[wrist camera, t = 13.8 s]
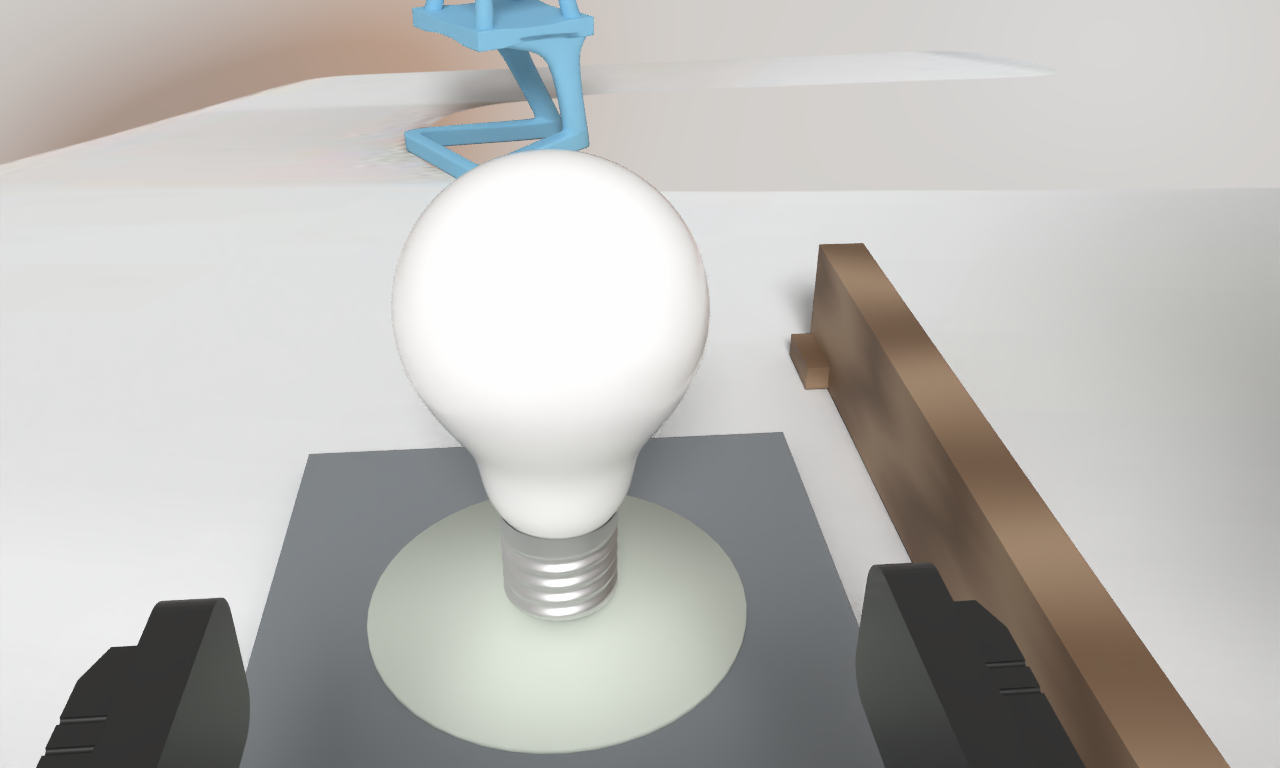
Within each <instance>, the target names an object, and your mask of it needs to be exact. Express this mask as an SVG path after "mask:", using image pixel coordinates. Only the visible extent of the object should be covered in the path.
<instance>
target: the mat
mask: <svg viewBox="0 0 1280 768" xmlns="http://www.w3.org/2000/svg"><path fill="white" fill-rule="evenodd" d="M617 527H618V536H617V542H618V550H617V556H618V564H617V570H618V584H617V588H616V591H615V593H614V595H613V597H612V598H611V599H610V601H609V602H608V603H607V604H606V605H604V606H603V607H602V608H600V609H599V610H597V611H596V612H594V613H592V614H590V615H587V616H585V617H582V618H578V619H573V620H566V621H550V620H543V619H539V618H536V617H533V616H530V615H528V614H526V613H524V612H522V611H520V610H519V609H517V608H516V607H515V606H514V605H513V604H512V603H511V602H510V600H509V599H508V597H507V595H506V593H505V590H504V576H503V565H504V564H503V561H502V552H503V550H502V546H501V538H502V535H501V532H500V522H499V513H498V512H497V510H496V509H495V508H494V506H493V505H492V503H491V501H490V500H489V498H488V496H487V494H486V491H485V489H484V486H483V483H482V480H481V476H480V473H479V470H478V467H477V464H476V462H475V460H474V458H473V457H472V455H471V454H470V453H469V452H468V451H467V449H466V448H465V447H453V448H431V449H410V450H388V451H367V452H345V453H324V454H309V457H308V460H307V464H306V467H305V471H304V474H303V477H302V481H301V484H300V488H299V491H298V495H297V498H296V502H295V505H294V509H293V512H292V515H291V519H290V522H289V526H288V529H287V533H286V536H285V540H284V543H283V546H282V550H281V553H280V557H279V560H278V564H277V567H276V571H275V574H274V578H273V581H272V584H271V588H270V591H269V595H268V598H267V602H266V605H265V609H264V612H263V615H262V619H261V622H260V626H259V629H258V633H257V636H256V640H255V643H254V647H253V650H252V653H251V657H250V660H249V664H248V667H247V671H246V679H247V683H248V688H249V695H250V721H249V730H248V736H247V741H246V745H245V748H244V752H243V755H242V759H241V763H240V766H239V768H885V766H884V764H883V761H882V758H881V755H880V753H879V750H878V747H877V744H876V742H875V739H874V736H873V733H872V730H871V728H870V725H869V722H868V719H867V717H866V714H865V711H864V708H863V706H862V703H861V700H860V696H859V691H858V686H857V679H856V667H855V659H856V648H857V642H858V635H859V626H858V623H857V621H856V618H855V616H854V613H853V611H852V608H851V606H850V603H849V600H848V598H847V595H846V593H845V590H844V588H843V585H842V582H841V580H840V577H839V575H838V572H837V570H836V567H835V565H834V562H833V559H832V557H831V554H830V552H829V549H828V547H827V544H826V542H825V539H824V536H823V534H822V531H821V529H820V526H819V524H818V521H817V518H816V516H815V513H814V511H813V508H812V506H811V503H810V501H809V498H808V495H807V493H806V490H805V488H804V485H803V483H802V480H801V478H800V475H799V472H798V470H797V467H796V465H795V462H794V460H793V457H792V454H791V452H790V449H789V447H788V444H787V442H786V439H785V437H784V434H783V432H774V433H753V434H731V435H710V436H688V437H667V438H650V439H649V440H648V441H647V443H646V444H645V445H644V446H643V448H642V449H641V451H640V453H639V455H638V457H637V461H636V464H635V468H634V473H633V477H632V481H631V484H630V487H629V490H628V492H627V495H626V497H625V499H624V500H623V502H622V504H621V505H620V507H619V508H618V523H617Z"/></svg>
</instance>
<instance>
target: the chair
mask: <svg viewBox="0 0 1280 768" xmlns="http://www.w3.org/2000/svg"><path fill="white" fill-rule="evenodd" d="M443 3H444V0H426V4H425V7H418V8H412V12H413V24H414V27H417V28H420V29H422V30H425V31H429V32H437V33H440V34H443V35H445V36H448V37H451V38H452V39H454V40H456V41H457V42H459V43H461V44H462V45H463V46H465V47H468V48H470V49H473V50H475V51H478V52H482V51H488V50H495V49H497V50H498V51H499V52H500V54H501V55H502V57H503V58H504V60H505V61H506V63H507V65H508V67H509V68H510V70H511V72H512V73H513V75H514V77H515V79H516V80H517V82H518V84H519V86H520V88H521V90H522V91H523V93H524V95H525V97H526V99H527V101H528V103H529V105H530V106H531V109H532V110H533V112H534V115H535V118H533V119H525V120H514V121H502V122H489V123H476V124H464V125H452V126H440V127H428V128H420V129H414V130H409V131H406V132H405V133H404V136H405V142H406V149H407V150H408V151H409V152H411V153H413V154H415V155H416V156H418V157H420V158H422V159H424V160H425V161H427V162H429V163H431V164H432V165H434V166H436V167H438V168H440V169H441V170H443V171H445V172H447V173H448V174H450V175H452V176H454V177H455V178H458V177H460V176H461V175H463V174H464V173H466V172H468V171H469V170H471V169H473V168H475V167H477V166H479V165H478V164H475V163H473V162H471V161H469V160H467V159H466V158H463V157H462V156H460V155H458V154H457V153H455V152H453V151H451V150H449V149H447V148H446V147H444V146H452V145H467V144H481V143H494V142H507V141H521V140H533V139H542V140H539V141H537V142H535V143H532V144H530V145H528V146H525V147H523V148H521V149H518V150H516V151H514V152H511V153H509V154H512V153H516V152H521V151H528V150H536V149H564V150H573V151H578V150H581V149H584V148H587V147H589V136H588V129H587V122H586V116H585V109H584V102H583V94H582V85H581V75H580V51H581V47H582V45H583V42H584V40H585V38H586V36H590V35H594V29H593V27H594V24H593V23H594V21H593V18H594V17H592V16H589V15H586V14H582V13H580V12H579V9H578V6H577V3H576V0H559V5H560V9H559V8H556V7H553V6H550V5H547V4H545V3H543V2H541V1H539V0H475V3H470V4H462V5H443ZM528 51H530V52H533V53H536V54H538V55H540V56H541V57H543V59H544V60H545V61H546V62H547V64H548V66H549V69H550V71H551V74H552V77H553V81H554V85H555V89H556V93H557V98H558V103H559V108H560V115H561V117H560V115H559V113H558V111H557V109H556V107H555V105H554V103H553V101H552V99H551V97H550V95H549V93H548V91H547V89H546V87H545V85H544V83H543V81H542V79H541V77H540V75H539V73H538V71H537V69H536V67H535V65H534V63H533V61H532V59H531V57H530V54H529V52H528ZM543 138H544V139H543ZM507 155H508V154H507Z"/></svg>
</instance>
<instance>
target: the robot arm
mask: <svg viewBox="0 0 1280 768" xmlns="http://www.w3.org/2000/svg"><path fill="white" fill-rule="evenodd" d="M855 667H856V679H857V686H858V691H859V696H860V700H861V703H862V706H863V708H864V711H865V714H866V717H867V719H868V722H869V725H870V728H871V730H872V733H873V736H874V739H875V742H876V744H877V747H878V750H879V753H880V755H881V758H882V761H883V764H884V766H885V768H1086V767H1085V765H1084V764H1083V762H1082V760H1081V758H1080V756H1079V755H1078V753H1077V751H1076V749H1075V747H1074V746H1073V744H1072V742H1071V740H1070V739H1069V737H1068V735H1067V733H1066V731H1065V730H1064V728H1063V726H1062V724H1061V722H1060V721H1059V719H1058V717H1057V715H1056V714H1055V712H1054V710H1053V708H1052V706H1051V705H1050V703H1049V701H1048V699H1047V697H1046V696H1045V694H1044V693H1041V691H1040V685H1039V683H1038V681H1037V680H1036V678H1035V676H1034V674H1033V672H1032V671H1031V669H1030V667H1029V666H1026V664H1025V658H1024V656H1023V655H1022V653H1021V651H1020V649H1019V647H1018V646H1017V644H1016V642H1015V640H1014V639H1013V637H1012V635H1011V633H1010V631H1009V630H1008V628H1007V627H1006V626H1005V625H1004V624H1003V623H1002V622H1000V621H999V620H998V619H997V618H996V617H995V616H993V615H992V614H991V613H990V612H989V611H988V610H987V609H985V608H984V607H983V606H982V605H981V604H980V603H978V602H977V601H976V600H968V601H953V599H952V597H951V595H950V593H949V591H948V589H947V587H946V585H945V583H944V581H943V579H942V578H941V576H940V574H939V572H938V570H937V568H936V567H935V566H934V565H933V564H932V563H930V562H920V563H901V564H883V565H873V566H872V567H871V569H870V570H869V573H868V578H867V584H866V590H865V597H864V603H863V609H862V616H861V622H860V629H859V635H858V642H857V648H856V659H855ZM249 721H250V695H249V688H248V683H247V679H246V674H245V670H244V666H243V662H242V657H241V653H240V649H239V644H238V640H237V636H236V632H235V627H234V623H233V619H232V614H231V611H230V607H229V605H228V602H227V601H226V600H225V599H224V598H209V599H190V600H171V601H160V602H158V603H157V604H156V605H155V607H154V608H153V610H152V612H151V615H150V617H149V619H148V622H147V624H146V626H145V629H144V631H143V633H142V636H141V638H140V640H139V643H138V645H137V646H124V647H111V648H110V649H109V650H108V651H107V652H106V653H105V654H104V655H103V656H102V657H101V658H100V659H99V660H98V661H97V662H96V663H95V664H94V665H93V666H92V667H91V668H90V669H89V670H88V671H87V672H86V673H85V674H84V675H83V676H82V677H81V678H80V679H79V680H78V681H77V683H76V685H75V687H74V689H73V691H72V693H71V695H70V697H69V700H68V702H67V704H66V706H65V708H64V710H63V712H62V714H61V716H60V724H59V725H56V727H55V729H54V731H53V733H52V735H51V737H50V740H49V742H48V744H47V746H46V748H45V749H46V753H45V756H41V759H40V761H39V763H38V765H37V767H36V768H239V766H240V763H241V759H242V755H243V752H244V748H245V745H246V741H247V736H248V730H249Z"/></svg>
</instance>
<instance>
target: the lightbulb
mask: <svg viewBox="0 0 1280 768" xmlns="http://www.w3.org/2000/svg"><path fill="white" fill-rule="evenodd" d="M391 313H392V326H393V332H394V338H395V343H396V347H397V350H398V354H399V357H400V360H401V363H402V365H403V368H404V370H405V373H406V375H407V377H408V379H409V381H410V383H411V385H412V386H413V388H414V390H415V391H416V393H417V395H418V396H419V398H420V399H421V401H422V402H423V403H424V405H425V406H426V407H427V409H428V410H429V411H430V412H431V414H432V415H433V416H434V417H435V418H436V419H437V420H438V422H439V423H440V424H441V425H442V426H443V427H444V428H445V429H446V430H447V431H448V432H449V433H450V434H451V435H452V436H453V437H454V438H455V439H456V440H457V441H458V442H459V443H460V444H462V445H463V446H464V447H465V448H466V449H467V451H468V452H469V453H470V454H471V455H472V457H473V458H474V460H475V462H476V464H477V467H478V470H479V473H480V476H481V480H482V483H483V486H484V489H485V491H486V494H487V496H488V498H489V500H490V501H491V503H492V505H493V506H494V508H495V509H496V510H497V512H498V513H499V522H500V532H501V535H502V538H501V546H502V550H503V552H502V561H503V564H504V565H503V576H504V590H505V593H506V595H507V597H508V599H509V600H510V602H511V603H512V604H513V605H514V606H515V607H516V608H517V609H519V610H520V611H522V612H524V613H526V614H528V615H530V616H533V617H536V618H539V619H543V620H550V621H566V620H573V619H578V618H582V617H585V616H587V615H590V614H592V613H594V612H596V611H597V610H599V609H600V608H602V607H603V606H604V605H606V604H607V603H608V602H609V601H610V599H611V598H612V597H613V595H614V593H615V591H616V588H617V584H618V570H617V564H618V556H617V550H618V542H617V536H618V527H617V523H618V508H619V507H620V505H621V504H622V502H623V500H624V499H625V497H626V495H627V492H628V490H629V487H630V484H631V481H632V477H633V473H634V468H635V464H636V461H637V457H638V455H639V453H640V451H641V449H642V448H643V446H644V445H645V444H646V443H647V441H648V440H649V439H650V438H651V437H652V436H653V435H654V434H655V432H656V431H657V430H658V429H659V428H660V427H661V426H662V425H663V424H664V422H665V421H666V420H667V419H668V418H669V416H670V415H671V414H672V413H673V411H674V410H675V409H676V407H677V406H678V405H679V403H680V402H681V400H682V399H683V397H684V396H685V394H686V392H687V391H688V389H689V387H690V386H691V384H692V382H693V380H694V378H695V375H696V373H697V371H698V369H699V366H700V363H701V360H702V357H703V354H704V351H705V347H706V342H707V337H708V331H709V322H710V296H709V287H708V281H707V275H706V271H705V267H704V263H703V260H702V257H701V254H700V251H699V249H698V247H697V244H696V242H695V240H694V238H693V236H692V234H691V232H690V230H689V228H688V227H687V225H686V223H685V222H684V220H683V219H682V218H681V216H680V215H679V213H678V212H677V211H676V209H675V208H674V207H673V206H672V205H671V203H670V202H669V201H668V200H667V199H666V198H665V197H664V196H663V195H662V194H661V193H660V192H659V191H658V190H657V189H656V188H654V187H653V186H652V185H651V184H649V183H648V182H647V181H646V180H644V179H643V178H642V177H640V176H639V175H637V174H636V173H634V172H632V171H630V170H628V169H627V168H625V167H623V166H621V165H619V164H617V163H614V162H612V161H610V160H607V159H605V158H602V157H599V156H596V155H592V154H588V153H584V152H579V151H573V150H564V149H536V150H528V151H521V152H516V153H512V154H508V155H504V156H501V157H498V158H495V159H493V160H490V161H488V162H485V163H483V164H481V165H479V166H477V167H475V168H473V169H471V170H469V171H468V172H466V173H464V174H463V175H461V176H460V177H458V178H457V179H456V180H454V181H453V182H452V183H450V184H449V185H448V186H447V187H446V188H445V189H443V190H442V191H441V192H440V193H439V194H438V195H437V196H436V197H435V198H434V199H433V200H432V202H431V203H430V204H429V205H428V206H427V207H426V209H425V210H424V211H423V213H422V214H421V215H420V217H419V218H418V220H417V221H416V223H415V224H414V226H413V228H412V230H411V231H410V233H409V235H408V237H407V239H406V241H405V244H404V246H403V249H402V251H401V254H400V257H399V260H398V263H397V267H396V271H395V276H394V281H393V288H392V301H391Z"/></svg>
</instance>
